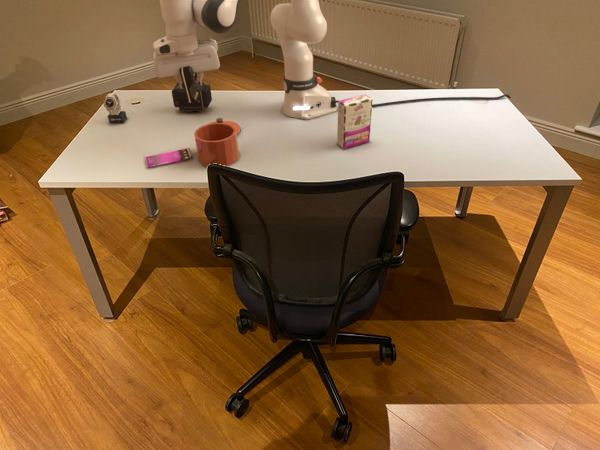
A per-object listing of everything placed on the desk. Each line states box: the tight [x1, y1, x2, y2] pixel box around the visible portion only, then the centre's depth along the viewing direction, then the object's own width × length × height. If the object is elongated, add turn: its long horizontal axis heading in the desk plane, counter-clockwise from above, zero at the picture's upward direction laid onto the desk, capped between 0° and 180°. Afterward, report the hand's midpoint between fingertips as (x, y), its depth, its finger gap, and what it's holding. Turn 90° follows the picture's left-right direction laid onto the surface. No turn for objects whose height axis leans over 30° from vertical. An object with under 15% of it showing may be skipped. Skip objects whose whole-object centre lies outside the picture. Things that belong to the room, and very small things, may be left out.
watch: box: [102, 92, 128, 124], centre depth 171 cm, size 6×8×11 cm
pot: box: [193, 122, 240, 167], centre depth 148 cm, size 14×14×10 cm
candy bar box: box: [336, 94, 373, 150], centre depth 152 cm, size 11×5×16 cm, turn 117°
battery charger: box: [179, 66, 199, 103], centre depth 140 cm, size 7×4×11 cm, turn 1°
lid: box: [208, 117, 241, 136], centre depth 164 cm, size 15×15×5 cm
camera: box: [171, 81, 213, 113], centre depth 177 cm, size 11×11×15 cm
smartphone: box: [145, 147, 193, 169], centre depth 150 cm, size 7×15×1 cm, turn 111°
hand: (191, 86), depth 142 cm, fingers closed on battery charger, 4 cm apart
